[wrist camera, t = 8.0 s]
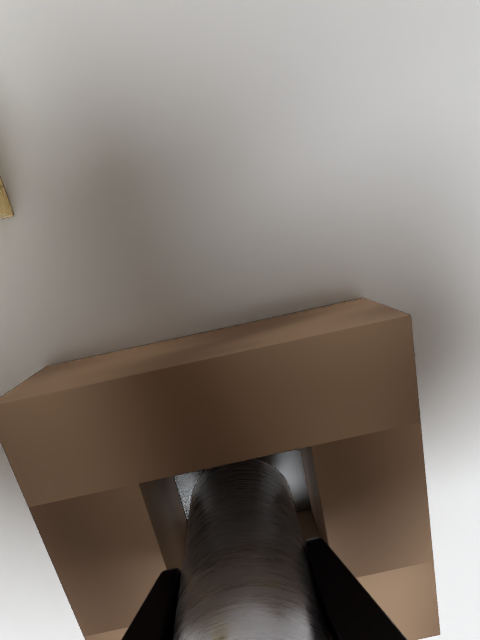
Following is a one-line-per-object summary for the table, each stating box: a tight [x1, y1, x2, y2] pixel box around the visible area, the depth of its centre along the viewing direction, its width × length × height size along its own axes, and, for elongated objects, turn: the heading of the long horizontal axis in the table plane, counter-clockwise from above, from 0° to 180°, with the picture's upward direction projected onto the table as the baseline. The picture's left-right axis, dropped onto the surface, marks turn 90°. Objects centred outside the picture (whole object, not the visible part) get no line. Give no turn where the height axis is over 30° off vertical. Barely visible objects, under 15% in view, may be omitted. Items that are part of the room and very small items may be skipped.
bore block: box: [0, 298, 440, 640], centre depth 10 cm, size 10×10×3 cm
